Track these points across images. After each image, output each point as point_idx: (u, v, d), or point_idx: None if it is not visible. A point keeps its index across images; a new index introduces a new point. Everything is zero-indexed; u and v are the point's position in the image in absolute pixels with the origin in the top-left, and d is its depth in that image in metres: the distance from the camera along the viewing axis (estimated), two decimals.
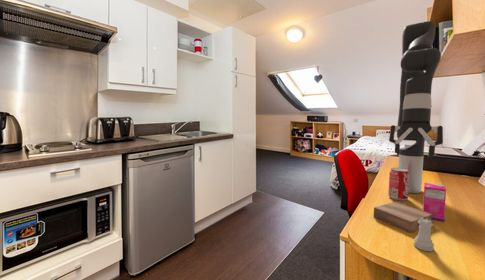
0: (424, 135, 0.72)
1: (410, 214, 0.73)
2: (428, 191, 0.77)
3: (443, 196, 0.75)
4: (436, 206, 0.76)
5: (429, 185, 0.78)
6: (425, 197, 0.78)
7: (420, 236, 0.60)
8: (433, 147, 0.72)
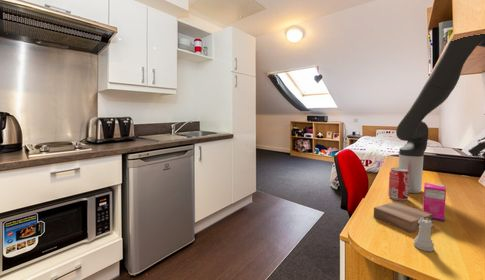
0: None
1: (410, 214, 0.73)
2: (428, 191, 0.77)
3: (443, 196, 0.75)
4: (436, 206, 0.76)
5: (429, 185, 0.78)
6: (425, 197, 0.78)
7: (420, 236, 0.60)
8: None
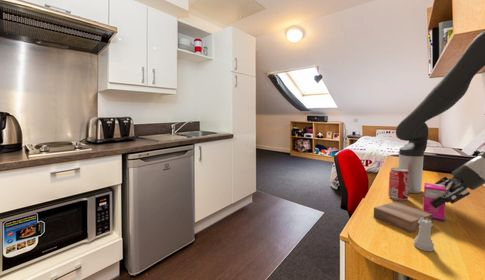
0: None
1: (410, 214, 0.73)
2: (428, 191, 0.77)
3: None
4: None
5: (429, 185, 0.78)
6: (425, 197, 0.78)
7: (420, 236, 0.60)
8: None
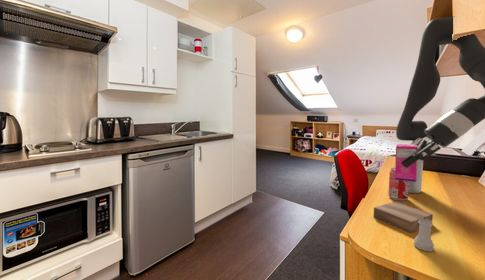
0: None
1: (410, 214, 0.73)
2: (399, 150, 0.73)
3: None
4: None
5: (401, 145, 0.74)
6: (397, 157, 0.73)
7: (420, 236, 0.60)
8: None
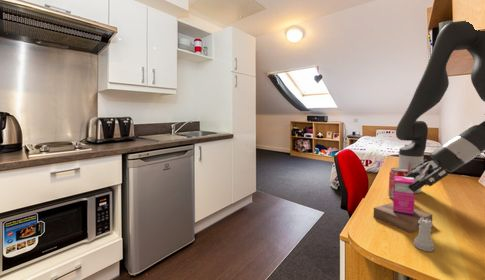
0: None
1: (410, 215, 0.73)
2: (397, 185, 0.73)
3: None
4: (406, 200, 0.72)
5: (398, 178, 0.75)
6: (395, 191, 0.74)
7: (420, 236, 0.60)
8: None
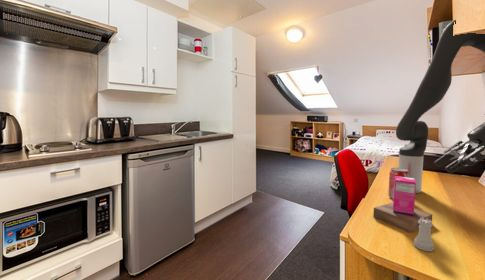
0: None
1: None
2: (398, 184, 0.73)
3: (413, 189, 0.71)
4: (406, 200, 0.72)
5: (399, 178, 0.75)
6: (395, 191, 0.74)
7: (420, 236, 0.60)
8: None
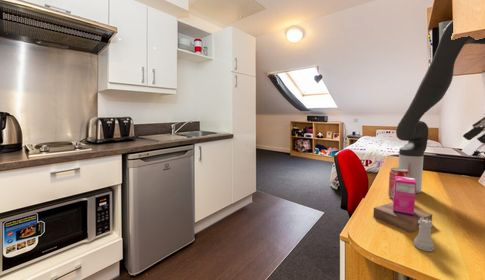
0: None
1: None
2: (398, 184, 0.73)
3: (413, 189, 0.71)
4: (406, 200, 0.72)
5: (400, 178, 0.75)
6: (396, 191, 0.74)
7: (420, 236, 0.60)
8: None
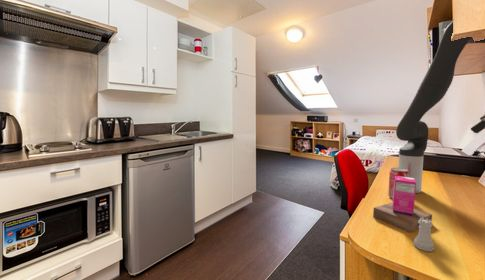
0: None
1: (410, 215, 0.73)
2: (398, 184, 0.73)
3: (413, 189, 0.71)
4: (406, 200, 0.73)
5: (399, 178, 0.75)
6: (395, 191, 0.74)
7: (420, 236, 0.60)
8: None
